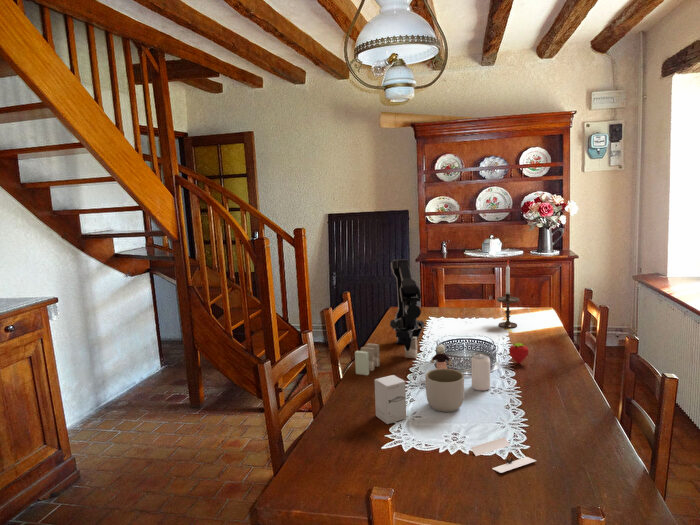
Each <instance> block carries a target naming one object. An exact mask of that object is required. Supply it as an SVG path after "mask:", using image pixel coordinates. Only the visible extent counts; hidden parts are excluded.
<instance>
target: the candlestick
mask: <svg viewBox="0 0 700 525" xmlns="http://www.w3.org/2000/svg"><path fill="white" fill-rule="evenodd" d="M509 262H510V259H508V258H507V261H506V264H507V265H506V267H505V292H504V293H503V294H504V296H499V297H497V298H496V302H498V303H503V304H506V310H505V311H504V313H505V314H506V315H505V318H506V321H503V322H502V321H501V322H499V323H498V327H499V328H502V329H509V330H511V329H516V328H517V327H518V323H516V322H512V321H510V318H511V315H510V314H511V312H512V311H511V310H510V304H515V303H519V302H520V298H519V297H517V296H511V295H512V294H513V293H512V292H511V291H510V290H511V277H510V275H511V272H510V271H511V268H510V266H509Z"/></svg>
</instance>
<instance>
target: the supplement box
mask: <svg viewBox="0 0 700 525" xmlns="http://www.w3.org/2000/svg"><path fill="white" fill-rule="evenodd" d="M406 389H407V388H406V380H404V379H402V378H400V377H398V376H397V375H395V374H392V375H387V376H383V377H378V378H375V379H374V399H375V400H374V401H375V402H374V404H375V406H374V407H375V416H376V417H377V418H378V419H379V420H381V421H382V422H384V423H385V424H387V425H389V424H392V423H395V422H398V421H402V420H406V419H407V401H406V400H407V398H406V397H407V394H406V393H407V392H406Z"/></svg>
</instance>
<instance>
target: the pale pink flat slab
mask: <svg viewBox="0 0 700 525" xmlns="http://www.w3.org/2000/svg"><path fill="white" fill-rule="evenodd" d="M510 445H511V444H510V443H509V441H508V440H507V439H506V437H501V438H497V439H494V440H490V441H487V442H484V443H481V444H478V445H475V446H471V447H470V449H471V450H472V452H473V454H474V455H475V457H477V456H481V455H484V454H486V453H490V452H494V451H496V450H500V449H503V448H506V447H510ZM505 462H506V463H505V464H501V465H498V466H495V467H492V468H491V469H492V470H494V471H496V472H498V473H500V474H501V473H502V474H503V473H505V472H507V471H512V470H513V469H517V468H519V467H522V466H526V465H529V464H531V463H534V462H537V460H536V459H533V458H531V457H529V456H525V457H522V458H519V459H515V460H514V458H513V457H511V458H510V460H509V459H508V458H506V460H505Z"/></svg>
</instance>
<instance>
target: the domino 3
mask: <svg viewBox="0 0 700 525" xmlns="http://www.w3.org/2000/svg"><path fill="white" fill-rule="evenodd" d="M418 357H419V356H418V340H417V337H413V339H412V343H411V346H410V349H409V351H406V348H405V347H404V358H408V359H417V358H418Z"/></svg>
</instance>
